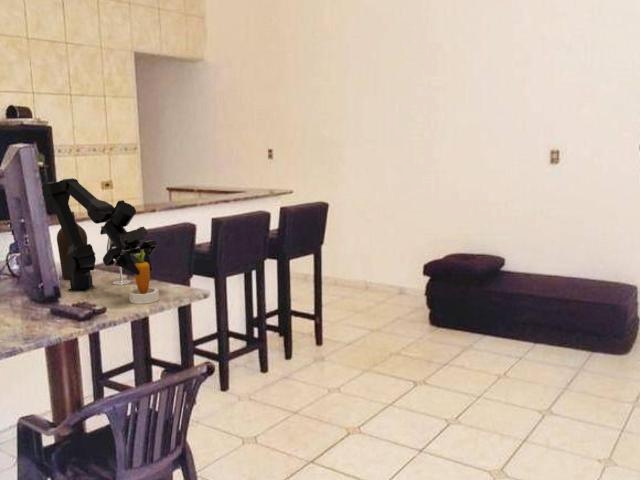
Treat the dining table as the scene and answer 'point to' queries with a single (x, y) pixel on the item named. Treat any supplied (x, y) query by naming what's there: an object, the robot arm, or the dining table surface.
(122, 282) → the wineglass
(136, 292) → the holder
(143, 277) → the carrot
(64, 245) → the olive oil
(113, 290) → the dining table surface
